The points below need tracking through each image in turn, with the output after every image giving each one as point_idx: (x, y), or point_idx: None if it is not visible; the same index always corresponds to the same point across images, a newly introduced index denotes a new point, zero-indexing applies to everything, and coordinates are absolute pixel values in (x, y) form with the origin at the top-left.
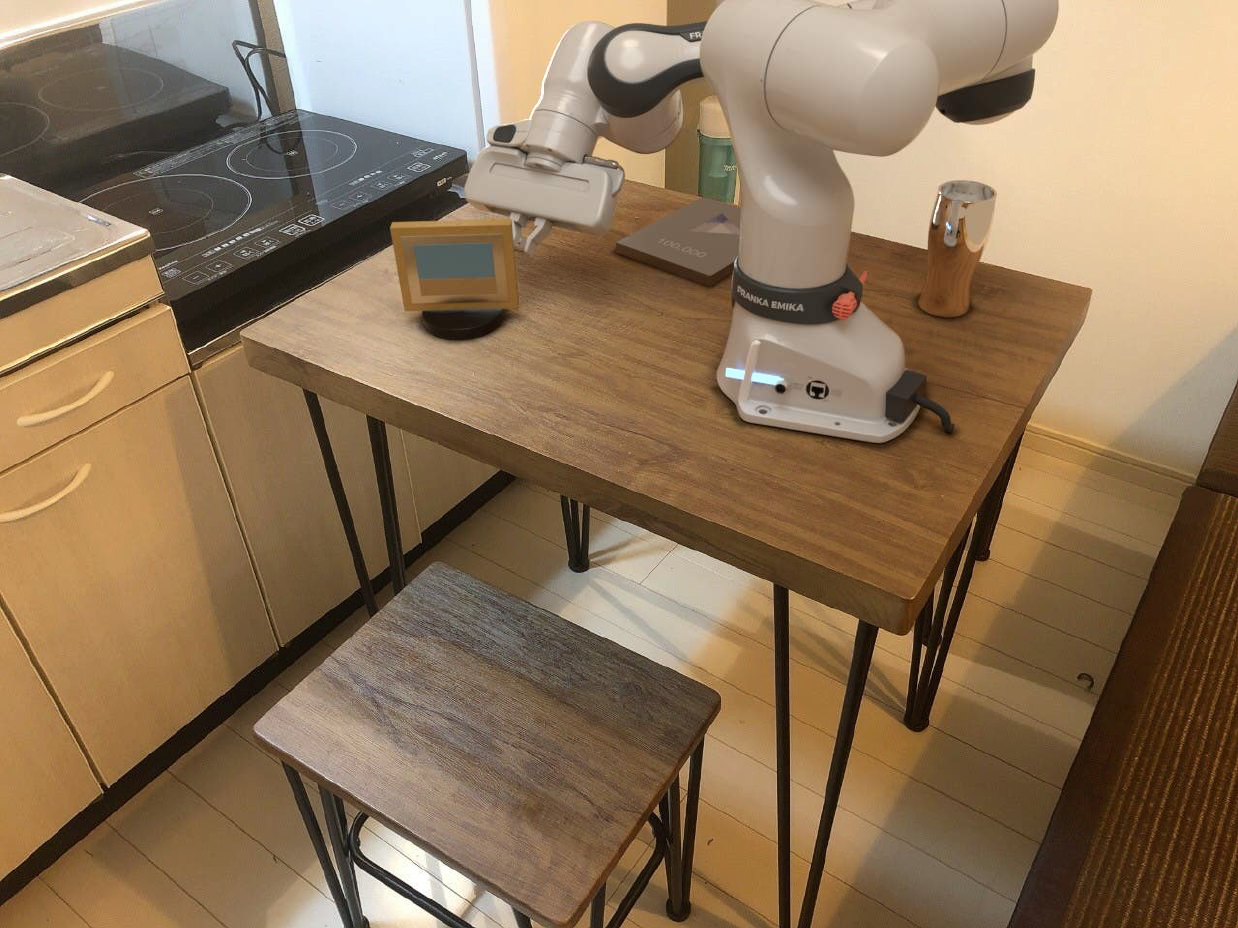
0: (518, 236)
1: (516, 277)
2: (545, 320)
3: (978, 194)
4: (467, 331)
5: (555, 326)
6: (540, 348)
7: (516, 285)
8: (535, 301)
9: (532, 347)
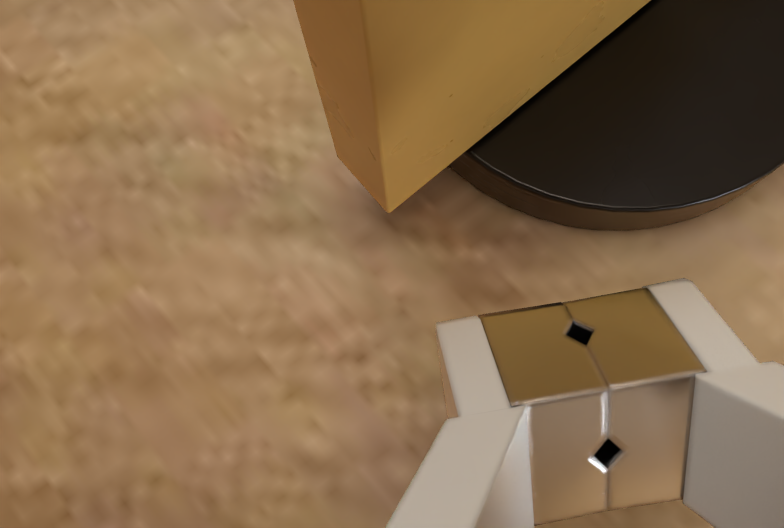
0: (658, 382)
1: (358, 120)
2: (232, 281)
3: None
4: None
5: (142, 265)
6: (73, 58)
7: (326, 97)
8: (434, 416)
9: (113, 41)
